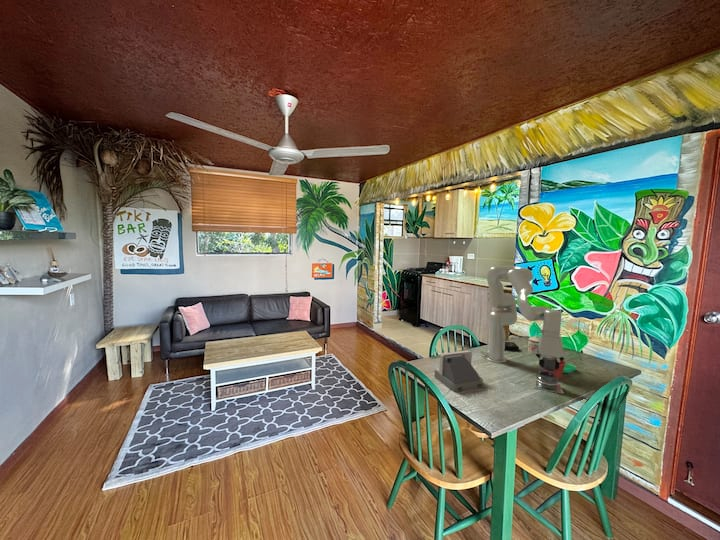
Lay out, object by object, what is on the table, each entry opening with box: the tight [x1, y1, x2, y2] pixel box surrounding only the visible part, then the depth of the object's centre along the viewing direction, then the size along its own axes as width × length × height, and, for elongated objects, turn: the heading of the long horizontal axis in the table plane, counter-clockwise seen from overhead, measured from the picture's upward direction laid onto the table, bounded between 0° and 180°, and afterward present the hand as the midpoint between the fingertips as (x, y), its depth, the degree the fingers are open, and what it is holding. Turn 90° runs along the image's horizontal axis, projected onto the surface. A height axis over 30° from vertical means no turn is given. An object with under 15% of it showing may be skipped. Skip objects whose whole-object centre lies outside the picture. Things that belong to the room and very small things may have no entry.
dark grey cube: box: [541, 356, 556, 371], centre depth 152 cm, size 6×6×6 cm
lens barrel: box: [531, 369, 565, 395], centre depth 154 cm, size 13×11×6 cm
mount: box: [555, 354, 577, 374], centre depth 175 cm, size 12×8×10 cm, turn 117°
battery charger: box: [504, 341, 520, 352], centre depth 209 cm, size 13×10×4 cm
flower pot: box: [543, 357, 566, 381], centre depth 165 cm, size 11×11×10 cm
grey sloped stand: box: [433, 349, 484, 392], centre depth 157 cm, size 21×21×15 cm
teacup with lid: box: [527, 335, 540, 355], centre depth 202 cm, size 12×9×12 cm
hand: (548, 367), depth 153 cm, fingers closed on dark grey cube, 5 cm apart
